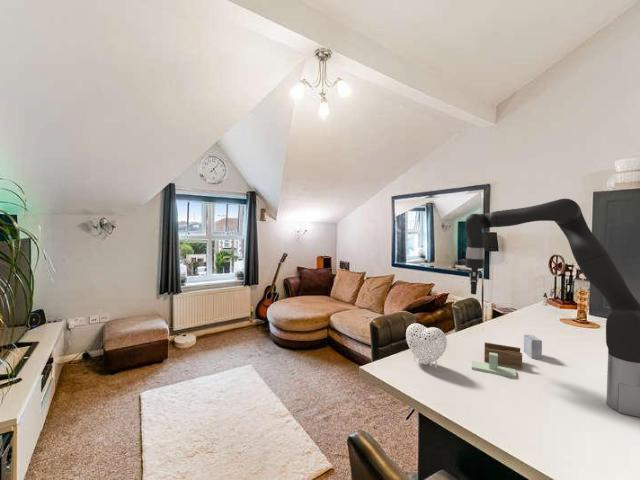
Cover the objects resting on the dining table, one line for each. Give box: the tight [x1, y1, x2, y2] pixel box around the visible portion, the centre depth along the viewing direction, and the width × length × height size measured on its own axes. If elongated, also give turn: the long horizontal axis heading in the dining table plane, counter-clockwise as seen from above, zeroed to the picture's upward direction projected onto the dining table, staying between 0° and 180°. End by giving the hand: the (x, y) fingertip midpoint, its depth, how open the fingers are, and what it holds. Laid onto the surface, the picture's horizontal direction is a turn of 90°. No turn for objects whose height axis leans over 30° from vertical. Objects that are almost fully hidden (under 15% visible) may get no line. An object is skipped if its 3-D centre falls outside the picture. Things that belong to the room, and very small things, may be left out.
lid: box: [471, 352, 518, 379], centre depth 126 cm, size 6×16×7 cm, turn 61°
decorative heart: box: [405, 322, 448, 369], centre depth 131 cm, size 18×11×17 cm, turn 45°
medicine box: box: [523, 334, 543, 360], centre depth 142 cm, size 8×4×9 cm, turn 168°
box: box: [483, 341, 523, 370], centre depth 135 cm, size 9×14×6 cm, turn 61°
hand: (473, 292), depth 138 cm, fingers open, 8 cm apart
